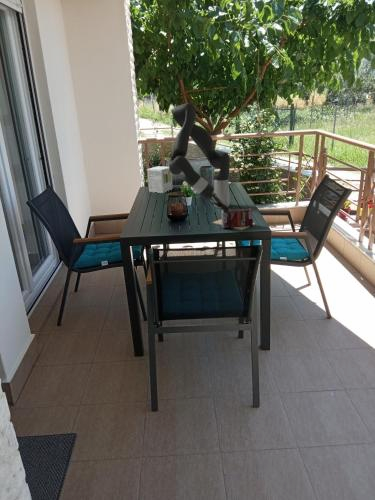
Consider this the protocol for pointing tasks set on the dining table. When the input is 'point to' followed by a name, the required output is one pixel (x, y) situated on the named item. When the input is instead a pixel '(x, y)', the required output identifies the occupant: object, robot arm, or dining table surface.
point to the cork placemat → (231, 227)
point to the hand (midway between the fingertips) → (227, 210)
